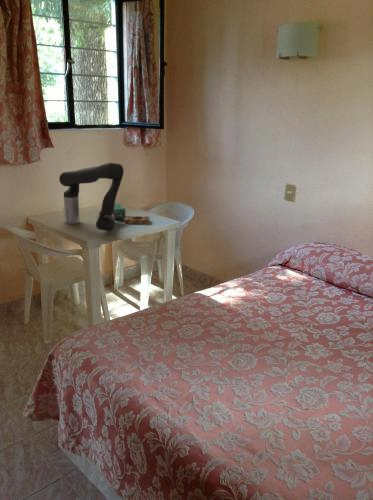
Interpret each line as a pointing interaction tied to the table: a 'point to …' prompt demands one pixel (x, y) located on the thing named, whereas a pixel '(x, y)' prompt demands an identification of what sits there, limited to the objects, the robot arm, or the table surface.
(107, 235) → the table surface
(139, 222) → the rail
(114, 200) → the robot arm
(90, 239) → the table surface
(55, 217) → the table surface
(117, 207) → the toy
